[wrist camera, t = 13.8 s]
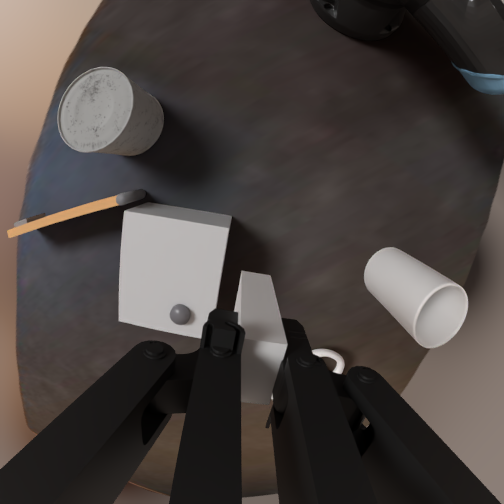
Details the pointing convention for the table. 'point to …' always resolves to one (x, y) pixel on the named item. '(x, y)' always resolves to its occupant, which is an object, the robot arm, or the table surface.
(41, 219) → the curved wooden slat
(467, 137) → the table surface
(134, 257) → the knobbed white cabinet
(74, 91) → the grey mottled cylinder
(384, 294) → the cup
